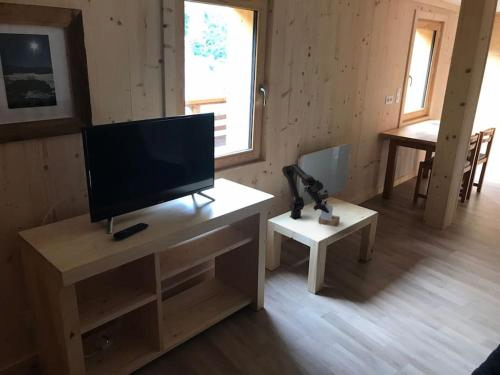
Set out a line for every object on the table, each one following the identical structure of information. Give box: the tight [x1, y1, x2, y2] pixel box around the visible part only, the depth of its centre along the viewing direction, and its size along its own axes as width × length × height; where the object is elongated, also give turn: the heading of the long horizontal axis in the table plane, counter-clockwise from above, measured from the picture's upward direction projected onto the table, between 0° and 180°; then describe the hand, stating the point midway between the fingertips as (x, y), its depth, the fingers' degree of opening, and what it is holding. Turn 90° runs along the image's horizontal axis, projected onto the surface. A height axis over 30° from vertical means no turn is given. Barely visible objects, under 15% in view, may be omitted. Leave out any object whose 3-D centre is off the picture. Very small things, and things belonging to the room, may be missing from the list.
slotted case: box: [318, 214, 341, 228], centre depth 287 cm, size 13×8×4 cm, turn 67°
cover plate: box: [320, 204, 334, 221], centre depth 274 cm, size 7×2×10 cm, turn 67°
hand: (328, 212), depth 273 cm, fingers closed on cover plate, 2 cm apart
